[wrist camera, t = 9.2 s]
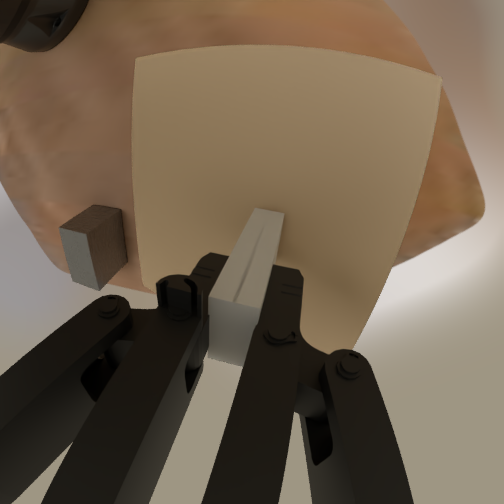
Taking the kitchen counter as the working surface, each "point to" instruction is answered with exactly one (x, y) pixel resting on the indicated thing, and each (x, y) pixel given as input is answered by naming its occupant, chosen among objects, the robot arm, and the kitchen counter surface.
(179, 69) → the lid
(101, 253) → the block
